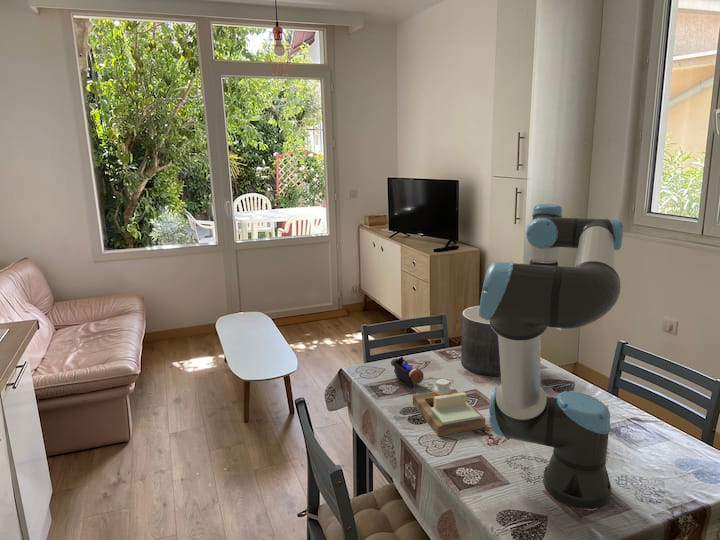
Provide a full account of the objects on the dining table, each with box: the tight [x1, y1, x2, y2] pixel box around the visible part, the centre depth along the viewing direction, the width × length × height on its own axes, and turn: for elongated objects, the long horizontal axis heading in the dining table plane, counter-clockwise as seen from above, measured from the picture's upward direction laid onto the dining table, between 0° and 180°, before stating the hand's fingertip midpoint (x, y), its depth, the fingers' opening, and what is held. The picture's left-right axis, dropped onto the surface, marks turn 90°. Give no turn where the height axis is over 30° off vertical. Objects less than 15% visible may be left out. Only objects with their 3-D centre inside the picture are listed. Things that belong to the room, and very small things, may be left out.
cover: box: [430, 391, 480, 425], centre depth 153 cm, size 9×12×4 cm
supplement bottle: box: [433, 378, 452, 397], centre depth 161 cm, size 5×5×10 cm
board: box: [412, 388, 486, 437], centre depth 159 cm, size 20×15×3 cm
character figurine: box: [390, 356, 424, 389], centre depth 182 cm, size 8×7×15 cm
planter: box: [460, 305, 501, 377], centre depth 193 cm, size 22×22×20 cm
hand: (538, 331), depth 148 cm, fingers open, 13 cm apart
